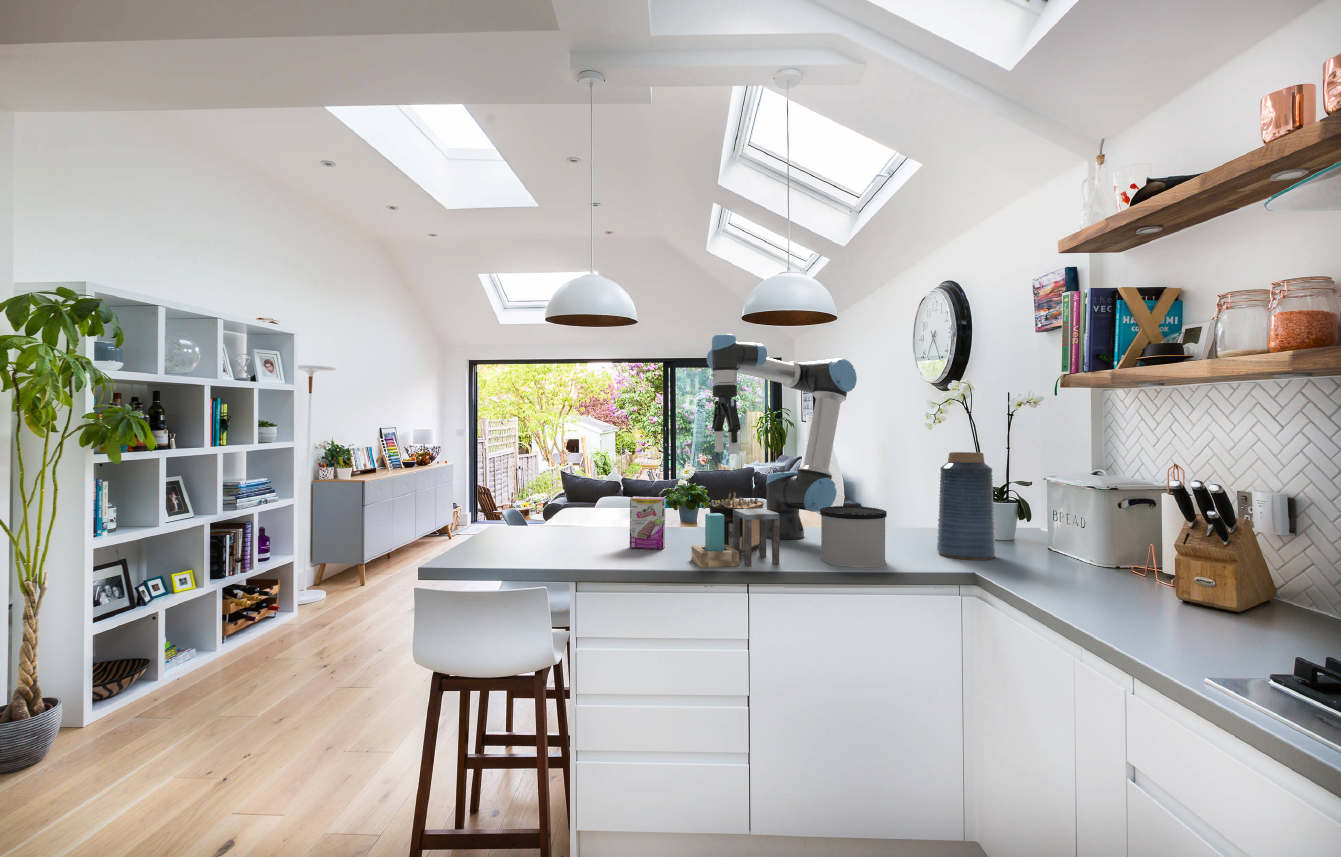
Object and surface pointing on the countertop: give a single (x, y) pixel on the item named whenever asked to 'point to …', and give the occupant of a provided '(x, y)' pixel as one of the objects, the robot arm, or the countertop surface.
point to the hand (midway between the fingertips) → (726, 452)
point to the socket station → (733, 554)
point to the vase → (966, 508)
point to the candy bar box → (647, 522)
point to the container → (853, 536)
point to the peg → (714, 532)
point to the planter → (727, 511)
